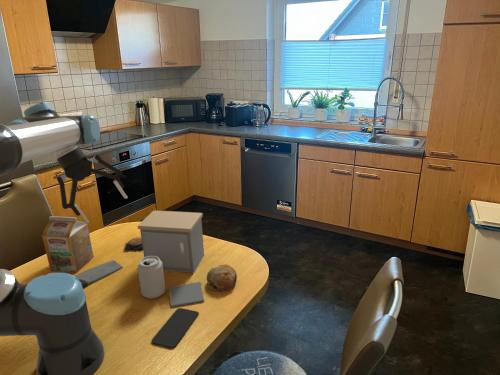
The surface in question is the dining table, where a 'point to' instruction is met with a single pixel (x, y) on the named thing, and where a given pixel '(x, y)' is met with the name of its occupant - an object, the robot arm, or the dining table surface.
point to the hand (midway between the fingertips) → (107, 209)
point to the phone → (175, 328)
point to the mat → (186, 294)
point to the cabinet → (173, 239)
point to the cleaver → (97, 273)
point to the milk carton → (67, 244)
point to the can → (151, 277)
